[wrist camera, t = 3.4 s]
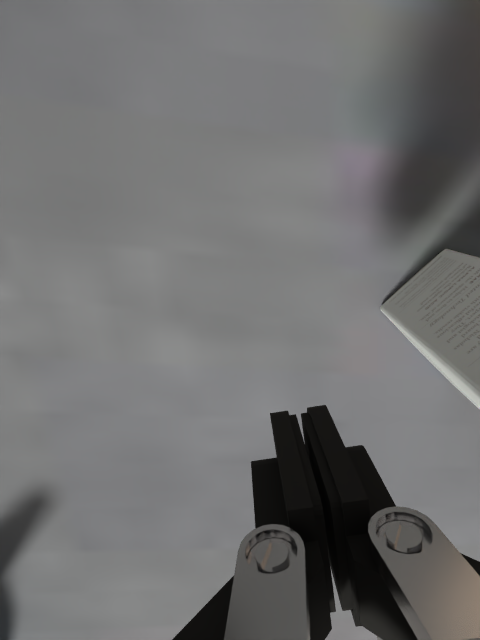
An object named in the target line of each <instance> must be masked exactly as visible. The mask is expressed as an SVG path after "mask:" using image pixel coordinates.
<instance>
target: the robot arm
mask: <svg viewBox="0 0 480 640" xmlns="http://www.w3.org/2000/svg"><path fill="white" fill-rule="evenodd" d="M270 416H271V423H272V429H273V436H274V442H275V449H276V455H277V458H271V459H264V460H258V461H251V468H252V483H253V497H254V512H255V526H256V529H254V530H253V531H251V532H250V533H249V534H247V535H246V536H245V538H244V539H243V540H242V542H241V544H240V547H239V550H238V555H237V561H236V568H235V574H234V576H233V577H232V578H231V579H230V580H229V581H228V582H227V583H226V584H225V585H224V586H223V587H222V588H221V590H220V591H219V592H218V593H217V594H216V595H215V596H214V597H213V598H212V599H211V600H210V601H209V602H208V603H207V604H206V605H205V606H204V607H203V608H202V609H201V610H200V611H199V612H198V613H197V615H196V616H195V617H194V618H193V619H192V620H191V621H190V622H189V623H188V624H187V625H186V626H185V627H184V628H183V629H182V630H181V631H180V632H179V633H178V634H177V635H176V636H175V637H174V639H173V640H325V638H326V637H327V635H328V634H329V632H330V631H331V629H332V626H331V618H330V612H336V609H335V601H334V593H333V585H332V576H331V570H332V574H333V577H334V581H335V585H336V589H337V592H338V596H339V600H340V603H341V607H342V610H343V611H345V610H351V612H352V615H353V619H354V622H355V626H363V627H365V628H366V629H368V630H369V631H371V632H372V633H374V634H375V635H377V639H378V640H480V562H479V561H477V560H474V559H472V558H470V557H468V556H465V555H463V554H461V553H460V552H459V551H458V550H457V549H456V548H455V546H454V545H453V544H452V543H451V542H450V541H449V539H448V538H447V537H446V536H445V535H444V534H443V532H442V531H441V530H440V529H439V528H438V526H437V525H436V524H435V523H434V522H433V521H432V520H431V519H430V518H429V517H427V516H426V515H424V514H422V513H421V512H419V511H417V510H413V509H410V508H407V507H396V505H395V504H394V502H393V500H392V498H391V496H390V494H389V492H388V490H387V489H386V487H385V485H384V483H383V481H382V479H381V477H380V476H379V474H378V472H377V470H376V468H375V466H374V464H373V462H372V461H371V459H370V457H369V455H368V453H367V451H366V449H365V448H364V446H362V445H359V446H352V447H346V448H345V446H344V444H343V441H342V439H341V437H340V435H339V433H338V431H337V428H336V426H335V424H334V422H333V420H332V417H331V415H330V413H329V411H328V409H327V407H326V405H322V406H315V407H309V408H307V413H302V414H301V418H302V426H303V434H304V441H305V444H304V441H303V437H302V434H301V430H300V427H299V424H298V420H297V417H296V414H295V415H289V413H288V411H282V412H276V413H270ZM330 566H331V568H330Z"/></svg>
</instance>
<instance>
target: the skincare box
mask: <svg viewBox="0 0 480 640" xmlns="http://www.w3.org/2000/svg"><path fill="white" fill-rule="evenodd" d="M381 311H382V312H383V313H384V314H385V315H386V316H387V317H388V318H389V319H390V320H391V321H392V322H393V324H394V325H395V326H396V327H397V328H398V329H399V330H400V331H401V332H402V333H403V334H404V335H405V336H406V337H407V339H408V340H409V341H410V342H411V343H412V344H413V345H414V346H415V347H416V348H417V349H418V350H419V351H420V352H421V353H422V354H423V355H424V356H425V357H426V358H427V359H428V360H429V361H430V362H431V363H432V364H433V365H434V366H435V367H436V368H437V369H438V370H439V371H440V372H441V373H442V374H443V375H444V376H445V377H446V378H447V379H448V380H449V381H450V382H451V383H452V384H453V385H454V386H455V387H456V388H457V389H458V390H459V391H460V392H461V393H463V394H464V395H465V396H466V397H467V398H468V399H469V400H470V401H471V402H472V403H473V404H474V405H475V406H477V407H478V408H479V409H480V258H479V257H475V256H472V255H468V254H464V253H460V252H456V251H453V250H449V249H444V250H443V251H442V252H440V253H439V254H438V255H437V256H436V257H435V258H434V259H432V260H431V261H430V262H429V263H428V264H427V265H425V266H424V267H423V268H422V269H421V270H420V271H419V272H418V273H416V274H415V275H414V276H413V277H412V278H411V279H410V280H409V281H408V282H406V283H405V284H404V285H403V286H402V287H401V288H400V289H399V290H398V291H397V292H396V293H395V294H394V295H392V296H391V297H390V298H389V299H388V300H387V301H386V302H385V303H384V304H383V305H382V306H381Z"/></svg>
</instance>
